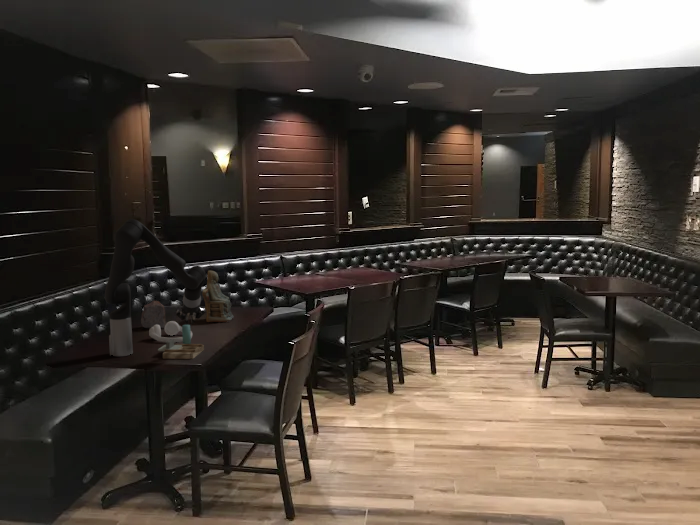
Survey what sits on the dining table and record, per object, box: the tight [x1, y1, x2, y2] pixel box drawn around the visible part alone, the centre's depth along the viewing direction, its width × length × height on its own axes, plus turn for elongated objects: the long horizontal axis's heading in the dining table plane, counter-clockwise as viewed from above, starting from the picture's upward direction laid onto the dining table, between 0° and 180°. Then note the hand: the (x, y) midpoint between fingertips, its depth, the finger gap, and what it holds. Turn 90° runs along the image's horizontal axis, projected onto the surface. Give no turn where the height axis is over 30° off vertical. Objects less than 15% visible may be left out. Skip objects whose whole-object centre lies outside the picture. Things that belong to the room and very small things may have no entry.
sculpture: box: [201, 270, 235, 323], centre depth 347 cm, size 24×16×30 cm, turn 179°
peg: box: [181, 324, 192, 344], centre depth 284 cm, size 4×4×11 cm
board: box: [162, 343, 205, 360], centre depth 272 cm, size 14×16×3 cm
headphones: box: [148, 320, 193, 344], centre depth 303 cm, size 20×8×20 cm
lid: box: [157, 339, 182, 352], centre depth 273 cm, size 8×8×4 cm
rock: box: [140, 300, 167, 329], centre depth 329 cm, size 14×12×15 cm
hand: (189, 322), depth 273 cm, fingers closed
